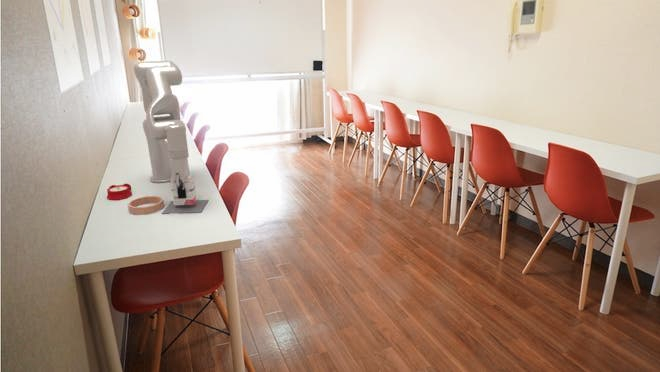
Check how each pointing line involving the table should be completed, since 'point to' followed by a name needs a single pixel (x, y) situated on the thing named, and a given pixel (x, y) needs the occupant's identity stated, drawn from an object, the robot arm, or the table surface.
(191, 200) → the ink box
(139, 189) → the table surface
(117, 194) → the alarm clock
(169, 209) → the mat
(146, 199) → the copper faceted ring
